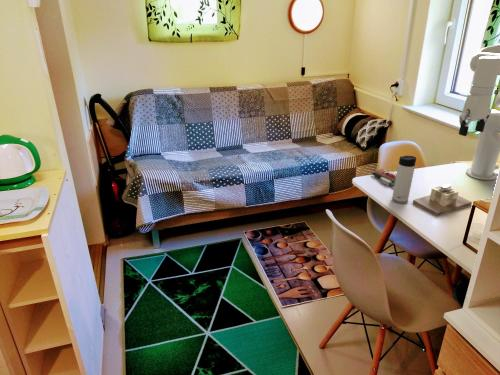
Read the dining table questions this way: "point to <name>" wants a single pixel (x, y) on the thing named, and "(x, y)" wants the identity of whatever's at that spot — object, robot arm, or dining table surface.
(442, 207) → the board
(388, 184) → the walkie-talkie
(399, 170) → the travel mug
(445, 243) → the dining table surface
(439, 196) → the wooden nightstand
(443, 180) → the dining table surface
